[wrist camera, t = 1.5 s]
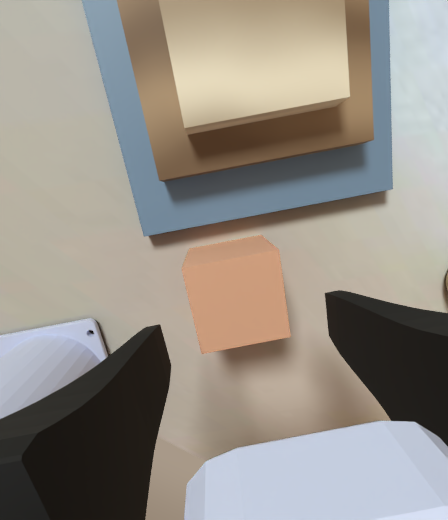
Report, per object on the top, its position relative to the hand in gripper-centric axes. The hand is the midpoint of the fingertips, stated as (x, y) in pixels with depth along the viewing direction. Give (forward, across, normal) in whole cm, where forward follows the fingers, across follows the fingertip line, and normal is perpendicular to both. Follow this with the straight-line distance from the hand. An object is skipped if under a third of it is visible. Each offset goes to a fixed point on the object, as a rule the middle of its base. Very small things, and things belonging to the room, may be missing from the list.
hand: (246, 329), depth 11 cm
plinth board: (+8, -3, -13) cm, 15 cm away
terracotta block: (+8, 0, 0) cm, 8 cm away
